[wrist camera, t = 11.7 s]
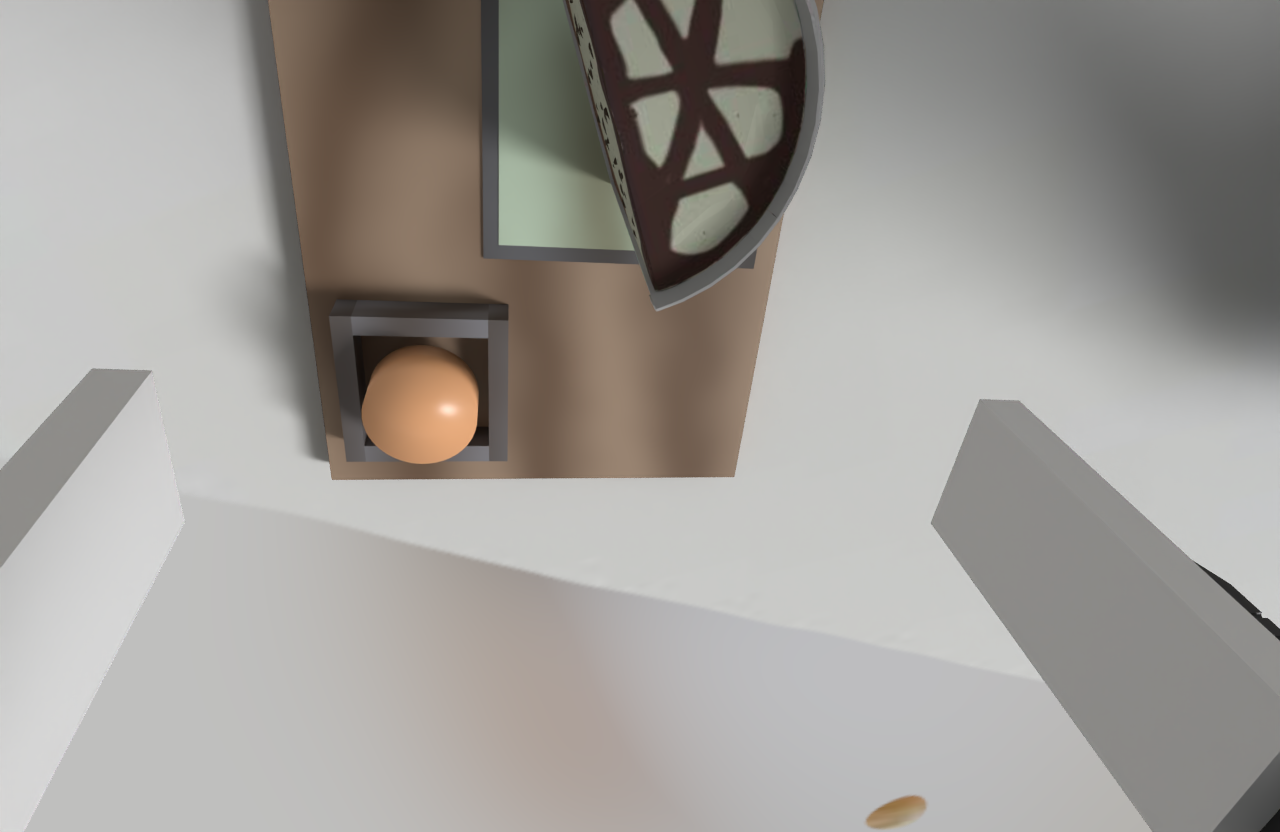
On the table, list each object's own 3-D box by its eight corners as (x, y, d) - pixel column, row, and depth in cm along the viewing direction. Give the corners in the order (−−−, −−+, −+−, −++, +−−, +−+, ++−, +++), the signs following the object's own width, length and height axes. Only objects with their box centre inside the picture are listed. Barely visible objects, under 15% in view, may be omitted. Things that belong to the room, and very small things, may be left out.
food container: (769, 177, 31) (864, 270, 23) (620, 220, 32) (660, 328, 23) (711, -205, 25) (815, -271, 16) (522, -150, 25) (529, -188, 16)
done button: (478, 345, 32) (476, 369, 30) (479, 437, 34) (477, 463, 33) (364, 343, 31) (356, 367, 30) (373, 437, 34) (366, 464, 32)
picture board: (863, -281, 25) (899, -302, 23) (728, 463, 40) (742, 496, 38) (228, -383, 22) (195, -420, 20) (336, 464, 37) (324, 501, 35)
